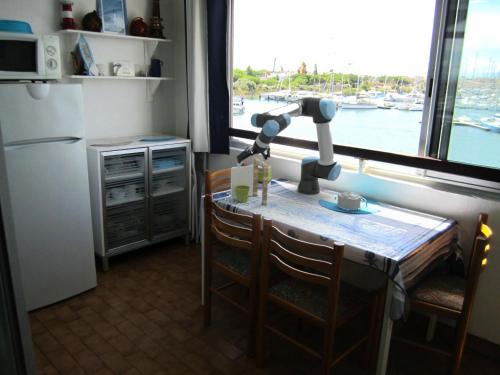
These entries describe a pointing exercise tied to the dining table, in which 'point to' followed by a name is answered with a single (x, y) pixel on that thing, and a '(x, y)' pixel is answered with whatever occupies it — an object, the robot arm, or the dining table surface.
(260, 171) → the tea box
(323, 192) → the dining table surface
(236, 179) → the door leaf
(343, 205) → the lumpy-topped squat cylinder
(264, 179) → the door frame
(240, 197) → the plant pot
